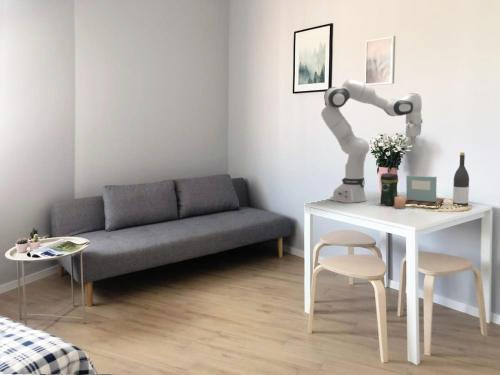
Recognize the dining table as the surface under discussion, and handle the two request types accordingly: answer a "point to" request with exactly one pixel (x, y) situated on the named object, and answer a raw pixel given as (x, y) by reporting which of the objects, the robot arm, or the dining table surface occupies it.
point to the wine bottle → (461, 184)
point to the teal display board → (421, 188)
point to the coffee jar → (388, 188)
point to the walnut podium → (426, 202)
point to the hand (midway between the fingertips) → (412, 143)
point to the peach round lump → (400, 202)
